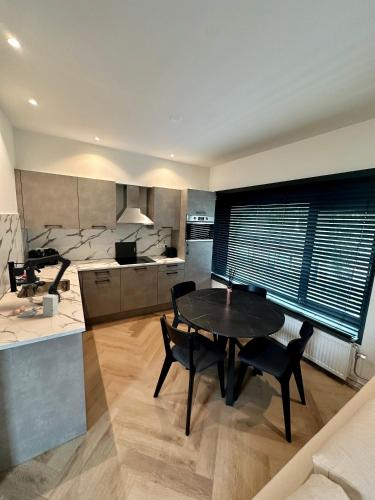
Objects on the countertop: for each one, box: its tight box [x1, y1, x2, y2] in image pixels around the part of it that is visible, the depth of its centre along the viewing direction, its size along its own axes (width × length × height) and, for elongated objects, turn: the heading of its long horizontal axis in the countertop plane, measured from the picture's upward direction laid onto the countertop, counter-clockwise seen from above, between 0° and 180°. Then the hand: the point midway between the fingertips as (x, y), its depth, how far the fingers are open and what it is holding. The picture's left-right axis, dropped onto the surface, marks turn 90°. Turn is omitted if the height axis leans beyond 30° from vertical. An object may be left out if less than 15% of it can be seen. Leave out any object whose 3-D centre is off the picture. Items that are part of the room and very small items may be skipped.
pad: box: [16, 310, 39, 319], centre depth 154 cm, size 9×9×1 cm
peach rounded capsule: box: [17, 305, 25, 314], centre depth 158 cm, size 4×4×4 cm
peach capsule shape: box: [12, 307, 21, 317], centre depth 153 cm, size 4×4×4 cm
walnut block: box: [26, 287, 37, 297], centre depth 165 cm, size 4×4×6 cm
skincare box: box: [42, 293, 59, 318], centre depth 154 cm, size 8×6×15 cm
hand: (32, 294), depth 165 cm, fingers closed on walnut block, 4 cm apart
